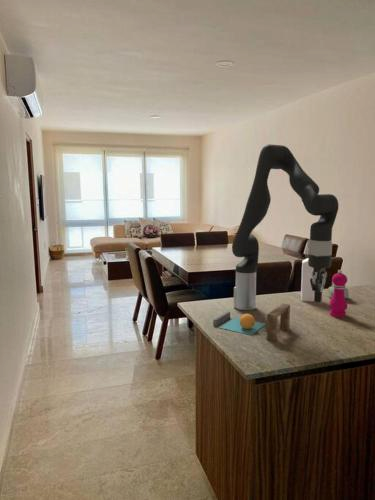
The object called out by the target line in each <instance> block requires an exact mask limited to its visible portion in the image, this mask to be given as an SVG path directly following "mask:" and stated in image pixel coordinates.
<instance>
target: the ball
mask: <svg viewBox="0 0 375 500" xmlns="http://www.w3.org/2000/svg"><path fill="white" fill-rule="evenodd" d="M239 318H240V325H241V327H242V328H244V329H251V328H252V327H253V326H254V325H255V322H256V320H255V317H254V316H253V315H252V314H250V313H244V314H242V315H241V316H240V317H239Z"/></svg>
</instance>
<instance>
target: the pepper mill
mask: <svg viewBox="0 0 375 500" xmlns="http://www.w3.org/2000/svg"><path fill="white" fill-rule="evenodd" d="M346 275H347V274H344V273H343V270H342V269H338V270H337V273H335V274H334V275H332V277H331V282H332V281H333V283H334V284H333V288H334V294H333V296H332V298H330V300H329V302H328V303H329V308H330V311H329V315H330V316H332V317H335V318H345V317H346V314H347V312H346V310H347V308H348V303H347V302H348V301H347V300H346V299H347V298H346V299H345V296H344V289H345V288H347V286H346V284H347V283H348V276H346Z"/></svg>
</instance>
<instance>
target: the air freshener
mask: <svg viewBox="0 0 375 500" xmlns="http://www.w3.org/2000/svg"><path fill="white" fill-rule="evenodd" d="M333 284H334V283H333V281H332V280H331V286H329V287H328V288H327V294H328V297H329V298H330V299H331V298H332V296H333V294H334V288H333ZM349 295H350V294H349V289H348V288H347V287H346V288H345V289H344V296H345V299H348V298H349Z"/></svg>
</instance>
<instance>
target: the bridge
mask: <svg viewBox="0 0 375 500" xmlns="http://www.w3.org/2000/svg"><path fill="white" fill-rule="evenodd" d="M290 315H291V304H289V303H281V304H280V305H278V306H277V307H276V308H274V309H272V310H271V311H270V312H269V313H267V321H266V322H267V323H266V327H267V328H266V329H267V330H266V340H267V341H272V342H276V341H277V340H278V317H280V320H279V329H281V330H286V331H288V330H290V319H291V317H290Z"/></svg>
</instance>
